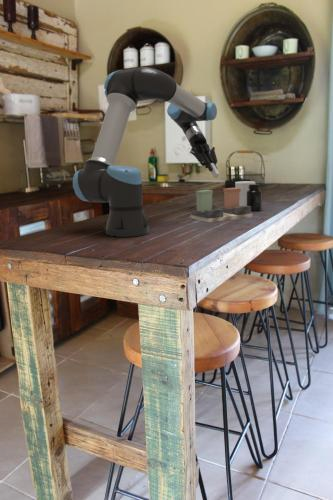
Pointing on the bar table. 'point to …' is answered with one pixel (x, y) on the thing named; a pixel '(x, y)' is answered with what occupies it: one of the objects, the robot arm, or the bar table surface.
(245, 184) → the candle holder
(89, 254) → the bar table surface
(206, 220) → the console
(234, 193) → the terracotta rectangular container
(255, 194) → the supplement bottle
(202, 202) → the green container
